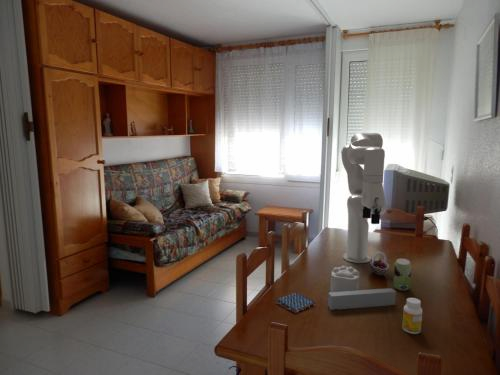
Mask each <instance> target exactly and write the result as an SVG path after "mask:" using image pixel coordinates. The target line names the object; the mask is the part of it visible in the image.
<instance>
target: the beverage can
mask: <svg viewBox="0 0 500 375" xmlns="http://www.w3.org/2000/svg"><path fill="white" fill-rule="evenodd" d="M393 267H394V269H393V270H394V271H393V287H394V288H395V289H396V290H399V291H403V292H405V291H407V290H409V289H410V288H411V279H412V278H411V277H412V263H411V262H410V260H409V259H407V258H397V259H396V261H395V262H394V266H393Z"/></svg>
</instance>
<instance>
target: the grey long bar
mask: <svg viewBox="0 0 500 375" xmlns="http://www.w3.org/2000/svg"><path fill="white" fill-rule="evenodd" d="M327 294H328V295H327V307H328V306H329V307H328V309H329V310H330V311H333V310H335V309H337V310H346V309H348V308H349V309H358V308H360V309H361V308H373V307H384V306H385V307H386V306H395V305H396V296H397V295H396V294H397V291H396V290H394V289H393V288H392V287H390V288H375V289H373V288H372V289H361V290H360V289H359V290H358V291H343V292H327Z"/></svg>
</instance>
